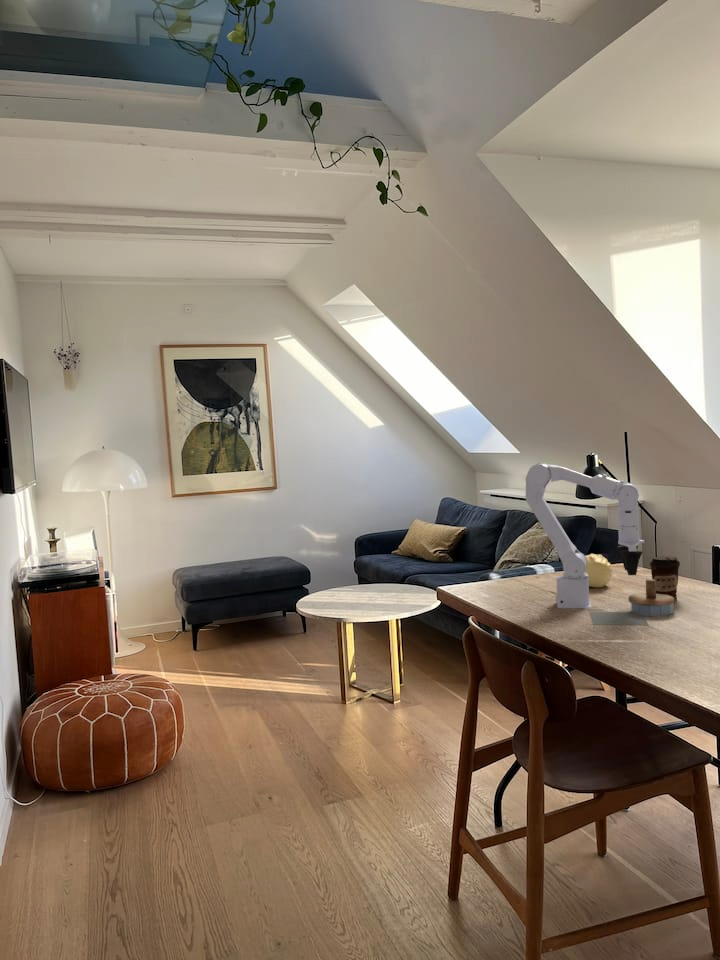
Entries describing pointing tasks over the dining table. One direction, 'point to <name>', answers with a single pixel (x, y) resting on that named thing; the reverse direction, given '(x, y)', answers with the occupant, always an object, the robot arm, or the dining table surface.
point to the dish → (652, 610)
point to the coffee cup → (665, 575)
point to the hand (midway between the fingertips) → (630, 572)
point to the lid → (651, 596)
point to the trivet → (617, 618)
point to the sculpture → (598, 570)
